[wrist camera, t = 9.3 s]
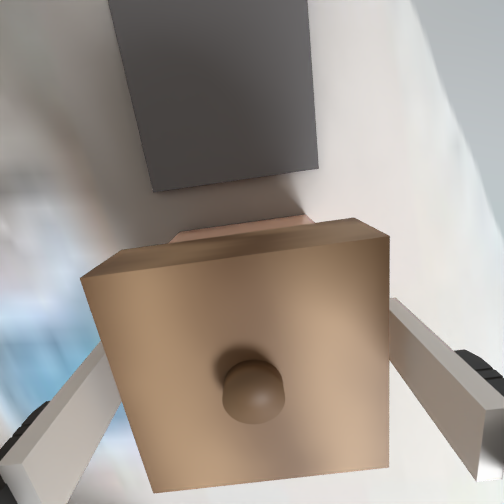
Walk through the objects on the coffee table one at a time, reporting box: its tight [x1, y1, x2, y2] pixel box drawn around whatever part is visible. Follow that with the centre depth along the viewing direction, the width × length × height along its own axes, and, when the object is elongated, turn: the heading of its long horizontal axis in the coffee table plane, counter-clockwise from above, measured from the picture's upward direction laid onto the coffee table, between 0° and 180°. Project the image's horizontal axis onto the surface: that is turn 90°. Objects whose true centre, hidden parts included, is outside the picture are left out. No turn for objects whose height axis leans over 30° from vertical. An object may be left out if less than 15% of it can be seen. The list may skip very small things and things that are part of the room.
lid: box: [80, 218, 390, 493], centre depth 13 cm, size 11×11×4 cm
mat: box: [108, 0, 319, 192], centre depth 18 cm, size 11×11×1 cm
